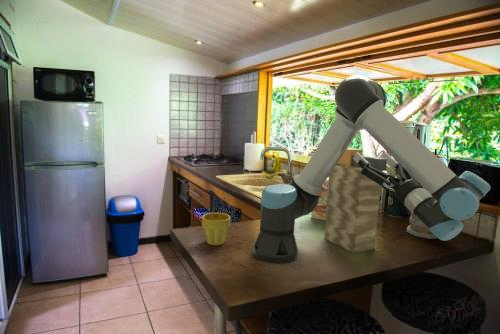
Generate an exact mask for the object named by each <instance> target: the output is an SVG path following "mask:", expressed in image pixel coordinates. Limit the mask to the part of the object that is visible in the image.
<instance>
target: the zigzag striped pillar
mask: <svg viewBox="0 0 500 334" xmlns="http://www.w3.org/2000/svg"><path fill="white" fill-rule="evenodd" d="M361 170H362V168H359V167H354V166H346V165H341V164H336V166H335V167H334V169H333V170H332V172H331V173H330V174H329V176H328V178H329V186H328V199H327V212H326V220H325V228H324V239H325V240H327V241H329V242H331V243H332V244H336V245H337V246H339V247H341V248H343V249H345V250H348V251H350V252H352V253H353V254H358V253H362V252H368V251H371V250H375V247H376V238H377V226H378V218H379V209H380V208H379V207H380V206H379V205H380V197H381V188H382V186H380V185H379V184H377V183H376V182H374V181H373V180H371V179H369V178H368V177H366V176H365V175H363V174H361V173H360V172H361Z"/></svg>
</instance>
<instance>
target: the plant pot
mask: <svg viewBox="0 0 500 334" xmlns="http://www.w3.org/2000/svg"><path fill="white" fill-rule="evenodd" d="M231 220H232V219H231V215H229V214H228V213H223V212H209V213H205V214H203V215H202V216H201V227H202V228H203V231H204V234H205V235H204V237H205V239H206V243H207V244H208V245H211V246H220V245H223V244H224V243H225V242H226V237H227V233H228V230H229V228H230V226H231Z"/></svg>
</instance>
